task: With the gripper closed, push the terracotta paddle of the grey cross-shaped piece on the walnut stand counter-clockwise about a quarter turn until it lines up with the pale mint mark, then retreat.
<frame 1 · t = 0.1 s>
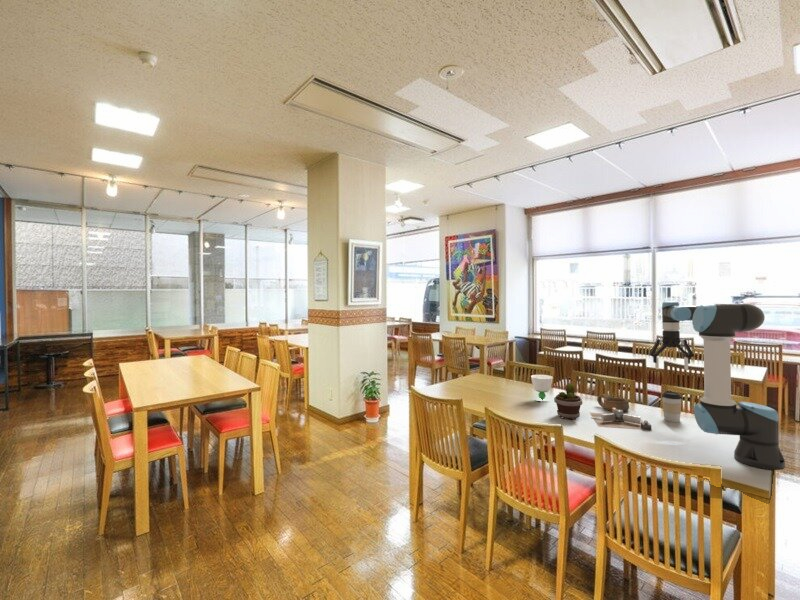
hand: (671, 369, 205), 28 cm above the table, fingers open, 13 cm apart
grey cross-shaped piece: (617, 414, 205), point 4 cm above the table, hinge at 0.0°
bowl: (612, 411, 224), on the table
flowerpot: (568, 417, 215), on the table
stand board: (618, 423, 203), on the table
coffee cup: (671, 420, 207), on the table
cup: (542, 400, 249), on the table
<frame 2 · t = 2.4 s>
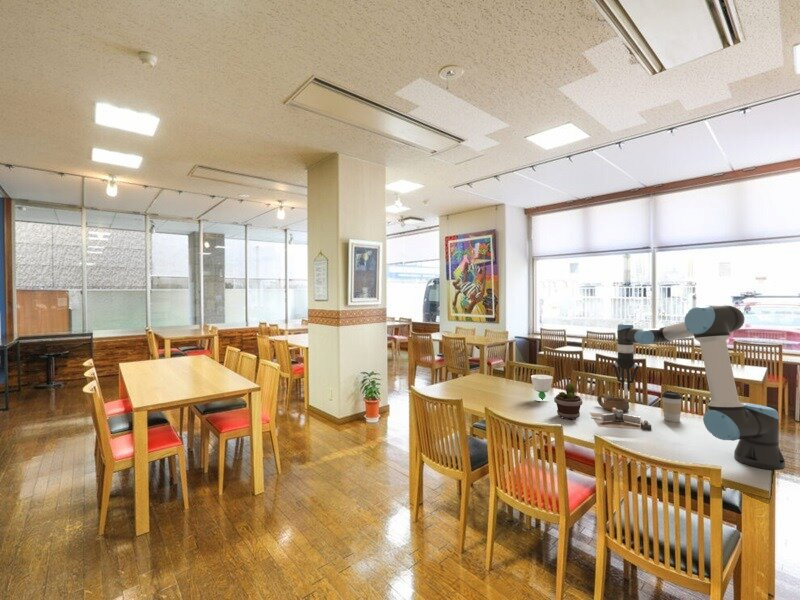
hand: (625, 394, 207), 14 cm above the table, fingers closed
nothing on the table moved.
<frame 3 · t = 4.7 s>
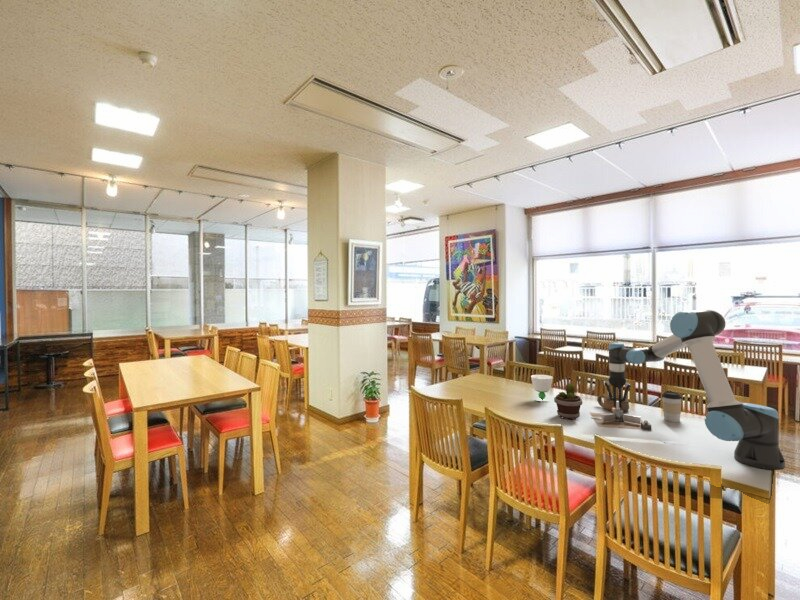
hand: (618, 413, 210), 3 cm above the table, fingers closed
grey cross-shaped piece: (617, 414, 205), point 4 cm above the table, hinge at 1.0°, touching gripper
everything else where it was.
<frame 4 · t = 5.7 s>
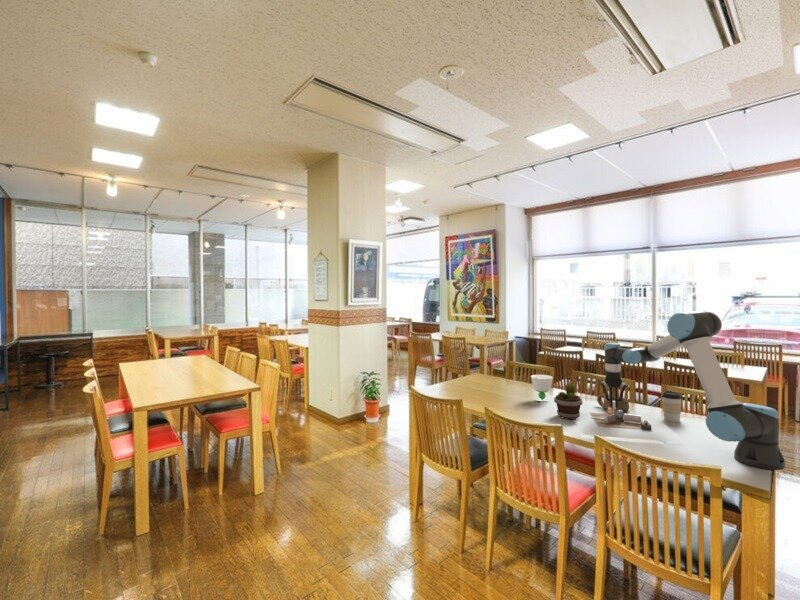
hand: (614, 413, 211), 3 cm above the table, fingers closed
grey cross-shaped piece: (616, 414, 205), point 4 cm above the table, hinge at 14.1°, touching gripper
everything else where it was.
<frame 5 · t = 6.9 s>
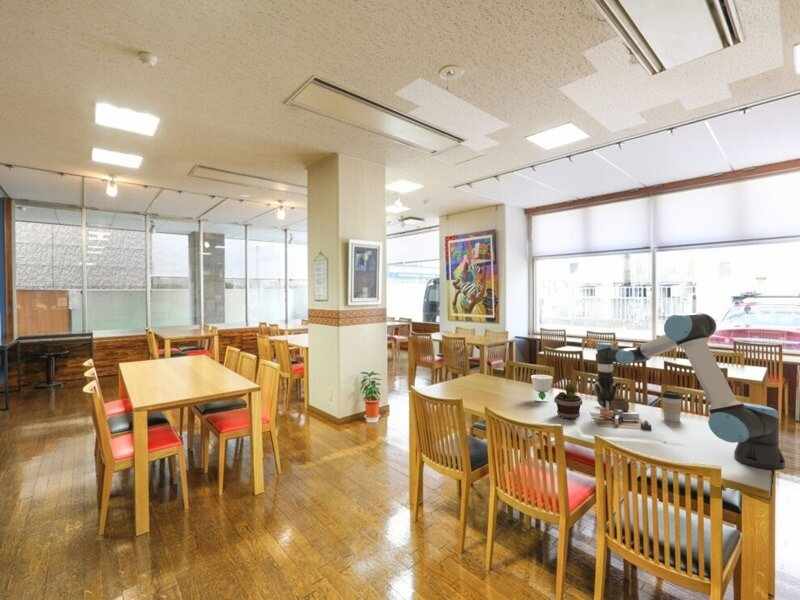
hand: (606, 413, 211), 3 cm above the table, fingers closed
grey cross-shaped piece: (614, 414, 205), point 4 cm above the table, hinge at 42.3°, touching gripper
everything else where it was.
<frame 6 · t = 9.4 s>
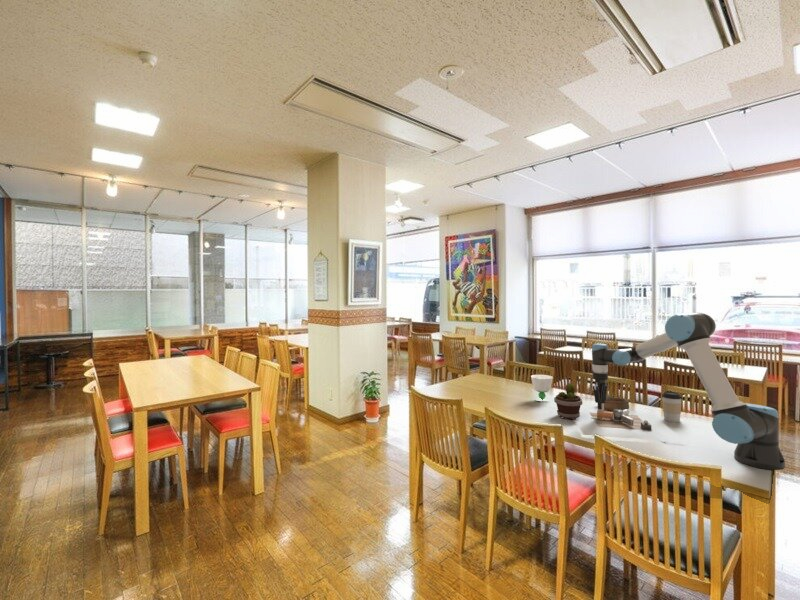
hand: (600, 414, 208), 3 cm above the table, fingers closed
grey cross-shaped piece: (613, 415, 203), point 4 cm above the table, hinge at 83.0°
everything else where it was.
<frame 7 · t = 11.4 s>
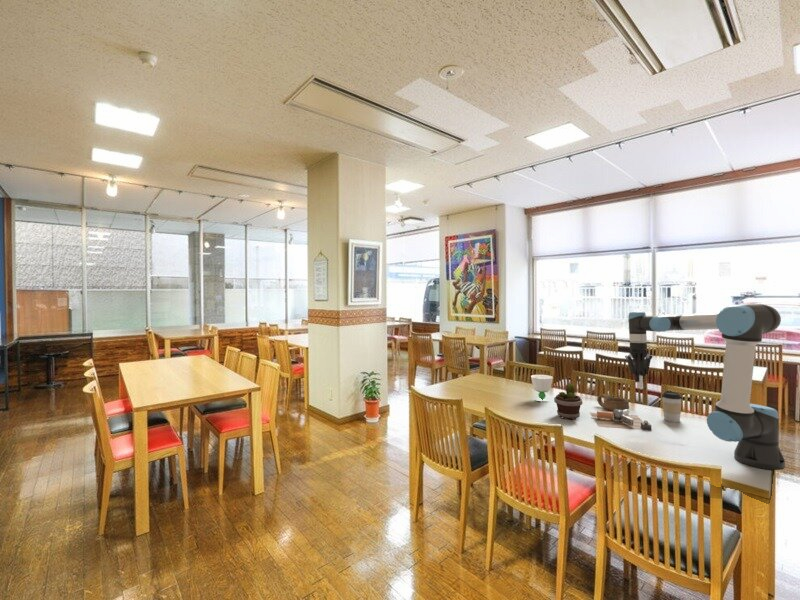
hand: (640, 388, 193), 21 cm above the table, fingers closed
nothing on the table moved.
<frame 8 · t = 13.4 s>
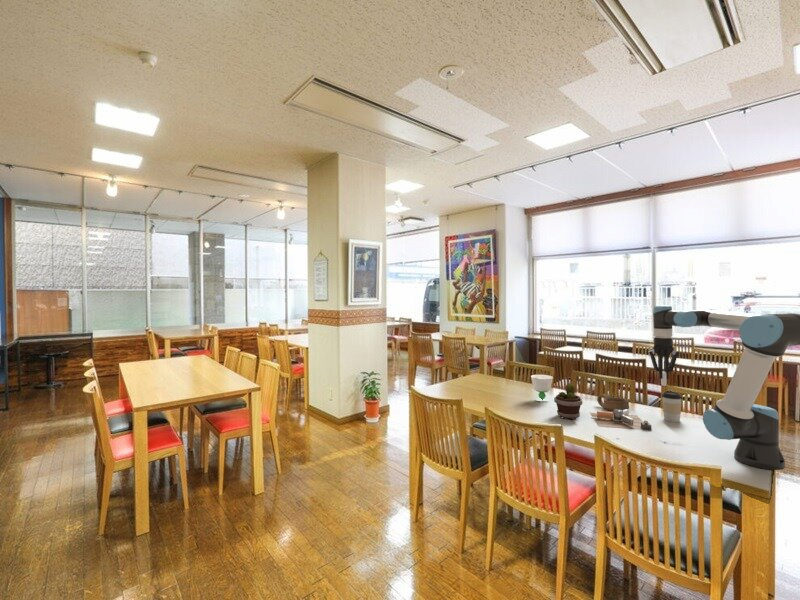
hand: (663, 385, 185), 24 cm above the table, fingers closed
nothing on the table moved.
at the end: grey cross-shaped piece at +83° (first picture: +0°) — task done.
